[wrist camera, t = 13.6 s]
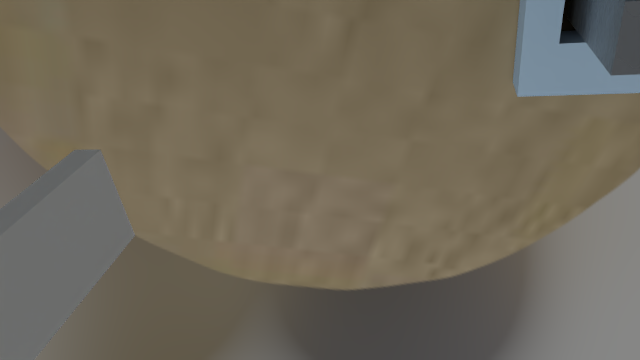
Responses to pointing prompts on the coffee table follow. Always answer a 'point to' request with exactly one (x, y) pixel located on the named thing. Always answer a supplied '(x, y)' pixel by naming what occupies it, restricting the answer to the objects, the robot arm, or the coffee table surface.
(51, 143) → the coffee table surface
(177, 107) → the coffee table surface
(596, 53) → the square bit
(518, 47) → the bore block
